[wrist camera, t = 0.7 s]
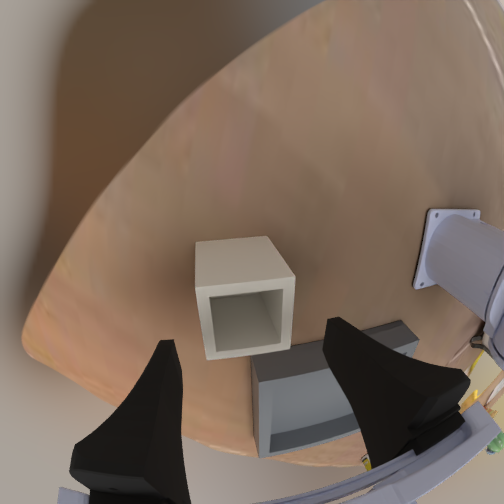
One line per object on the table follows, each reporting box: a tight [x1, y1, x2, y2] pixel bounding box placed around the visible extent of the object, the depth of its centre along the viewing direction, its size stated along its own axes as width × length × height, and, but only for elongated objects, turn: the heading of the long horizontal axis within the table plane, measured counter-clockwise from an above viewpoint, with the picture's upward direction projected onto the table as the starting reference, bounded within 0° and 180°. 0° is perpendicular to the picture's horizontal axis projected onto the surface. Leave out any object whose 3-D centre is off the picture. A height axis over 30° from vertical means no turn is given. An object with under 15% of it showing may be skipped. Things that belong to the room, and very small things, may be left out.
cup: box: [195, 236, 295, 360], centre depth 16 cm, size 5×5×6 cm
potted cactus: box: [484, 407, 504, 455], centre depth 56 cm, size 15×15×25 cm
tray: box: [251, 320, 419, 458], centre depth 25 cm, size 16×16×4 cm
